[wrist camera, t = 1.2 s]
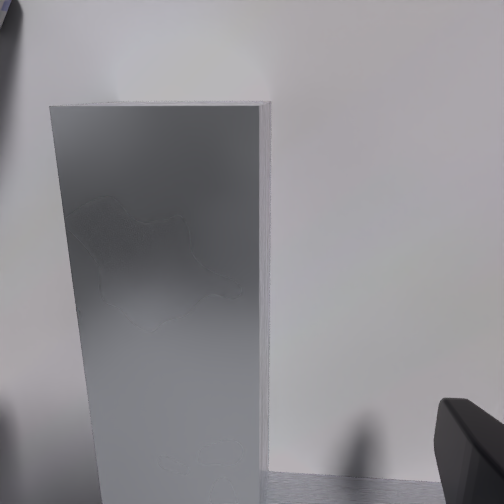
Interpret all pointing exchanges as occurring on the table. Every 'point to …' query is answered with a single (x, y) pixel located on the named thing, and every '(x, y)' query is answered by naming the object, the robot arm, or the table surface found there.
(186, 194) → the bracket
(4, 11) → the caliper
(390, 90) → the table surface
